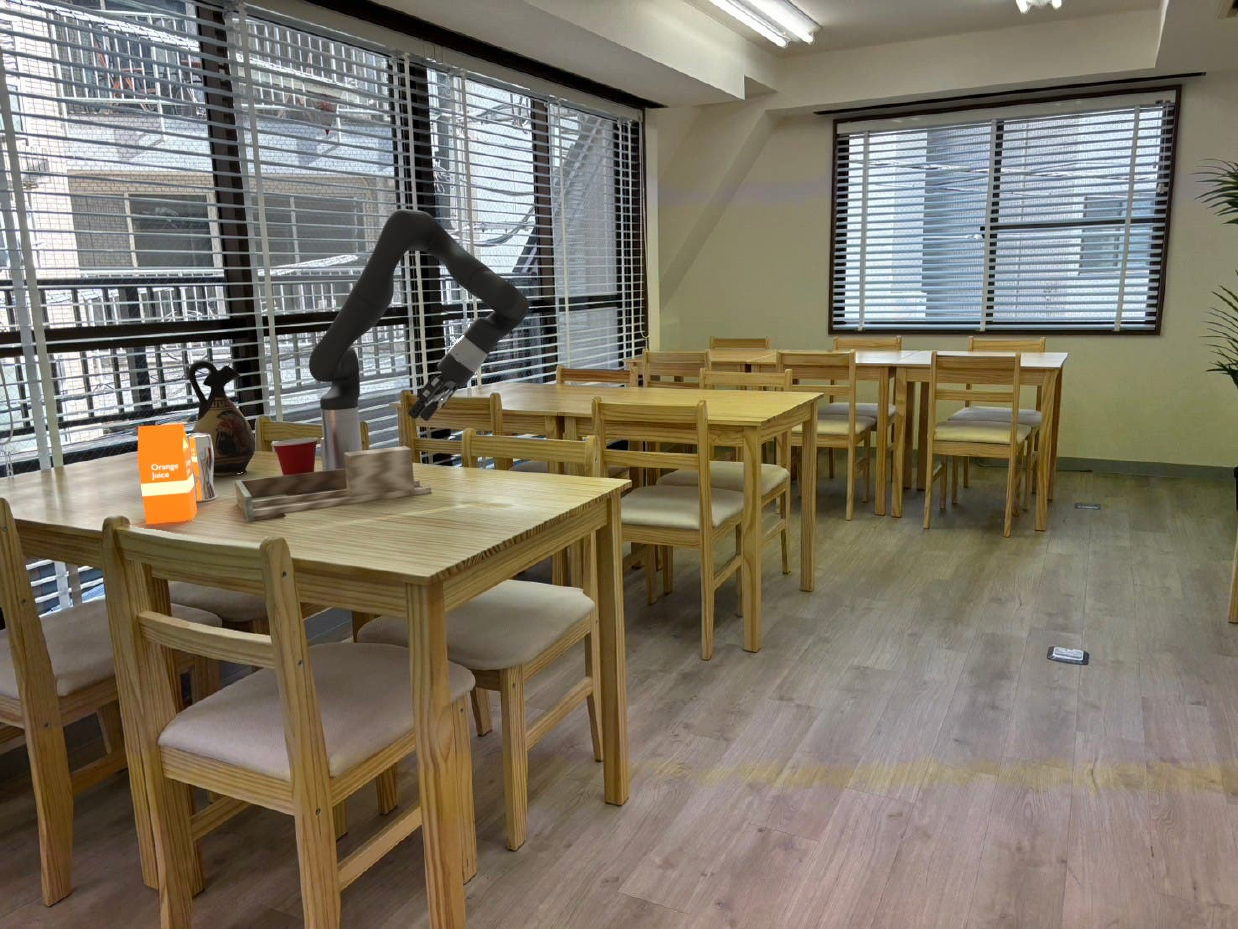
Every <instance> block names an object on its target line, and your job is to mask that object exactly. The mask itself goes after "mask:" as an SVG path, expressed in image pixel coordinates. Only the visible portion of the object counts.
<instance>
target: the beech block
mask: <svg viewBox="0 0 1238 929" xmlns="http://www.w3.org/2000/svg"><path fill="white" fill-rule="evenodd" d="M344 461H345V472H346V483H347V495H348V497H357V496H364V495H372V494H380V493H387V492H395V491H403V490H410V489H414V481H415V480H414V479H415V478H414V467H413V453H412V448H410V447H409V446H407V445H403V446H394V447H385V448H375V449H367V450H362V451H355V452H346V453H344Z"/></svg>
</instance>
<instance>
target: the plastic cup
mask: <svg viewBox="0 0 1238 929" xmlns="http://www.w3.org/2000/svg"><path fill="white" fill-rule="evenodd" d="M318 440H319V437H301V438H293V439H286V440H280V441H276V442H275V441H274V442H271V444H270V445H271V446H272V447H273V448H274V451H275V453H276V456H277V457H278V462H279V466H280V469H281V474H282V476H283V475H292V474H300V473H309V472H315V461H316V451H317V443H318Z"/></svg>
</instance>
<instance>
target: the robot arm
mask: <svg viewBox="0 0 1238 929" xmlns="http://www.w3.org/2000/svg"><path fill="white" fill-rule="evenodd" d="M409 251H411V252H424V253H427V254H429V255H431V256H432V257H435V258H436V259H437V260H439V261H440V262H441V263H442V264H443V265H444V266H445V268H446V270H447V272H448V274H449V275H450V277H451V278H452V279H453V280H454V281H455V283H457V284H458V285H459V286H460V287H462V288H463V289H465V290H466V291H467V292H468V293H470V294H471V295H472V296H474V297H475V298H478V299H480V301H482V302H483V303H484V304H485V305H486V306H487V307H488V308H490V309H491V310H492V312H491V313H490V314H489V315H488V316H487V317H481V316H480V317H477V318H476V319H475V320H473V321H472V323H471V324H470V325H469V326H468V328H467V329H466V330H465V332H463V334H462V335H461V336H460V337H459V338H458V339H457V340H456V341H455V342H454V343H453V345H451V347H450V348H449V349H448V350H447V352H446V354H445V355H444V356H443V357H442V359H441V360H440V361H439V363H438V364H437V365H436V367H437V369H438V371H439V372H441V373H440V375H438V376H436V375H432V376H431V377H430V379H429V380H428V381H427V382H426V383H425V385H424V386H422V388H421V390H420V391H419V392H418V393H417V395H416V397H417V400H416V402H415V403H414V405H413V406H412V407H411V408H410V409H409V410H408V413H407V414H408V415H409V417H411V419H414V420H417V419H418V418H419V417H420V418H421V419H422V420H424V421H425V422H428V421H430V419H431V418H433V415H434V414H436V411H438V410H439V409H442V408H444V407H445V406H446V404H447V403H448V402H449V400H450V399H451V398H452V397H453V395H454V394H455V393H456V391H457V390H458V389H459V387H461V388H464V387H465V386H466V385H467V384H468V382H470V380H471V379H472V378H473V377H474V375H475V374H476V373H477V371H478V370H479V368H480V367H482V365H483V364H484V362H485V360H486V358H487V357H488V356H489V355H490V353H491V352H492V350H494V348H495V347H496V345H497V344H498V343H499V341H501V340H502V339H503V338H504V337H506V336H507V335H508V334H510V333H511V332H512V331H513V330H514V329H515V328H517V327H518V326H519V325H520V324H522V323H523V321H524V320H525V318H526V316H527V314H528V312H529V309H530V302H529V300H528V298H527V297H526V295H525V294H524V293H522V292H521V290H519V289H518V288H517V287H516V286H515V285H513V284H512V283H510V281H509V280H507V279H505V278H503V277H502V276H500V275H498V274H497V273H495V272H494V270H493V269H491V268H490V267H488V266H487V265H486V264H485V263H483V262H482V261H480V260H479V259H478V258H476V257H475V256H473V254H471V253H470V252H468V251H467V250H466V249H465V248H464V247H463V246H462V245H461V244H460V243H458V242H457V241H456V240H455V238H453V237H452V235H450V233H449V232H448V231H447V230H445V229H444V227H443V225H441V223H439V222H438V221H437V219H435V218H434V217H433V216H432V215H431V214H429V212H426V211H423V210H420V209H419V210H417V209H416V210H415V209H409V208H408V209H407V208H399V209H397V210H394V211H393V212H391V214H390V215H389V216H388V217H387V219H386V221H385V223H384V225H383V228H382V230H381V232H380V234H379V236H378V239H377V242H376V243H375V246H374V248H373V251H372V253H371V255H370V257H369V258H368V261H367V263H365V266H364V268H363V270H362V271H361V273H360V276H359V277H358V279H357V280H356V281H355V283H354V285H353V287H351V289H350V292H349V294H348V295H347V298H346V300H345V302H344V303H343V305H342V307H341V308H340V310H339V311H338V313H337V315H336V317H335V318H334V320H333V321H332V323H331V325H330V326H329V328H327V331H326V332H325V333H324V335H323V336H322V337H321V339H319V341H318V343H317V344H316V345H315V347H314V349H313V350H312V352H311V354H310V357H309V361H308V369H309V373H310V375H311V376H312V378H314V380H316V381H318V382H321V383H331V386H330V389H329V390H328V392H326V393H325V394H324V395H322V396H321V398H320V399H319V404H320V405H319V409H320V414H321V415H320V417H321V426H322V427H321V428H322V437H321V438H320V440H319V443H320V444H319V445H320V452H321V453H320V454H321V465H322V471H326V470H335V469H344V468H345V461H344V453H346V452H355V451H363V450H362V449H363V448H362V447H363V446H362V435H361V425H360V424H361V423H360V414H359V412H360V411H359V398H360V394H361V383H360V381H361V379H360V377H361V376H360V375H361V374H360V362H359V358H358V354H357V353H356V350H355V349H354V348H353V346H352V345H353V344H354V343H355V342H356V341H357V340H359V339H360V337H362V336H364V335H365V334H366V333H368V332H369V331H370V330H371V329H372V328H374V326H376V325H377V324H378V323H379V321H380V320H381V319H382V318H383V316H384V315H385V313H386V311H387V309H388V308H389V306H390V304H391V303H392V300H393V297H394V293H395V292H394V291H395V283H394V278H395V277H394V274H395V270H396V268H397V266H398V265H399V263H400V262H401V259H403V258H402V257H403V256H405V254H406V253H407V252H409ZM458 386H459V387H458Z"/></svg>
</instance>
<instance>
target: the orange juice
mask: <svg viewBox="0 0 1238 929" xmlns="http://www.w3.org/2000/svg"><path fill="white" fill-rule="evenodd" d="M186 434H187V433H186V430H185V426H184V423H175V424H174V423H173V424H160V425H159V424H158V425H143V426H142V425H141V426H137V455H136V456H137V457H136V458H137V464H138V471H139V472H138V473H139V479H140V489H141V494H142V500H143V509H144V516H145V522H146V523H145V524H146V525H154V524H163V523H164V524H166V523H177V522H187V520H188V521H192V520H193V519H194V518H195V516H196V515H197V513H198V508H197V502H196V498H195V490H194V480H193V473H192V465H191V457H190V449H189V444H188V441H187V437H186ZM195 514H196V515H195Z"/></svg>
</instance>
